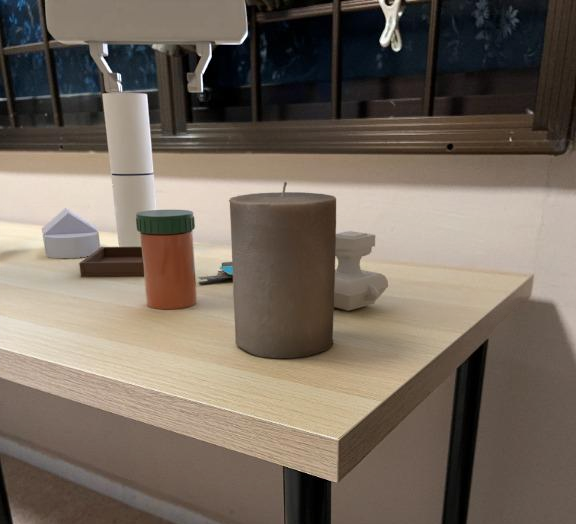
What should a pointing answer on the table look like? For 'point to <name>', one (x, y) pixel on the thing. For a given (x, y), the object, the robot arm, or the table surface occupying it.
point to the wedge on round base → (70, 236)
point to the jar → (169, 270)
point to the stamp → (355, 272)
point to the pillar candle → (283, 272)
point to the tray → (113, 262)
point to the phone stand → (221, 275)
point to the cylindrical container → (129, 161)
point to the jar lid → (165, 221)
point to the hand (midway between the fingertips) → (154, 92)
